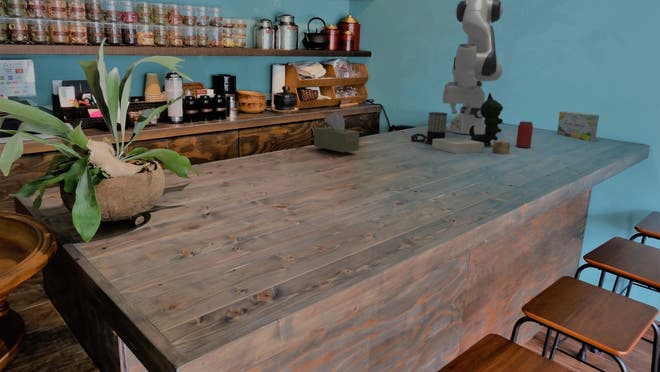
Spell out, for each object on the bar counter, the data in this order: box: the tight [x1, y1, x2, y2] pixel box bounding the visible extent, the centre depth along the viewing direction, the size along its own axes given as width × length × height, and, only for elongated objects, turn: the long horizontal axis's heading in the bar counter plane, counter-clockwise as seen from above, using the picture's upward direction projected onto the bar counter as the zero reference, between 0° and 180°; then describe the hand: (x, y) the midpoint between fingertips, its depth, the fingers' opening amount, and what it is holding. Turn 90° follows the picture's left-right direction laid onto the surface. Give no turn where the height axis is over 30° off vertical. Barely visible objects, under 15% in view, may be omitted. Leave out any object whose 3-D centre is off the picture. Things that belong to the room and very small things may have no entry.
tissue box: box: [313, 111, 360, 153], centre depth 217 cm, size 19×10×16 cm, turn 42°
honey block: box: [491, 140, 511, 155], centre depth 222 cm, size 5×5×5 cm
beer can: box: [515, 120, 534, 149], centre depth 242 cm, size 7×7×12 cm
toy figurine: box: [468, 92, 504, 147], centre depth 243 cm, size 9×19×25 cm, turn 27°
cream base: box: [431, 137, 485, 154], centre depth 226 cm, size 16×16×4 cm
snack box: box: [556, 110, 600, 142], centre depth 274 cm, size 21×6×15 cm, turn 25°
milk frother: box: [410, 111, 448, 145], centre depth 244 cm, size 14×16×15 cm
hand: (460, 114), depth 223 cm, fingers open, 6 cm apart
